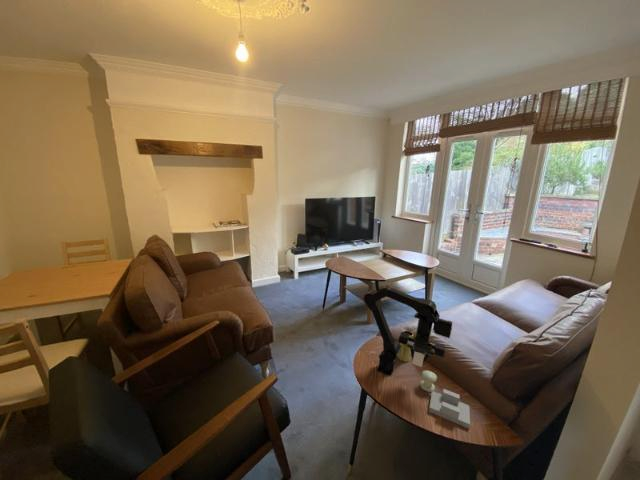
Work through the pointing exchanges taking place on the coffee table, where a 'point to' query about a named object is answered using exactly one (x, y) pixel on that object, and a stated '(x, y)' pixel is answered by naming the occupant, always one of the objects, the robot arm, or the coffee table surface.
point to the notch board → (462, 407)
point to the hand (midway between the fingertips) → (418, 360)
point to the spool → (428, 381)
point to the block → (418, 359)
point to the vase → (405, 350)
